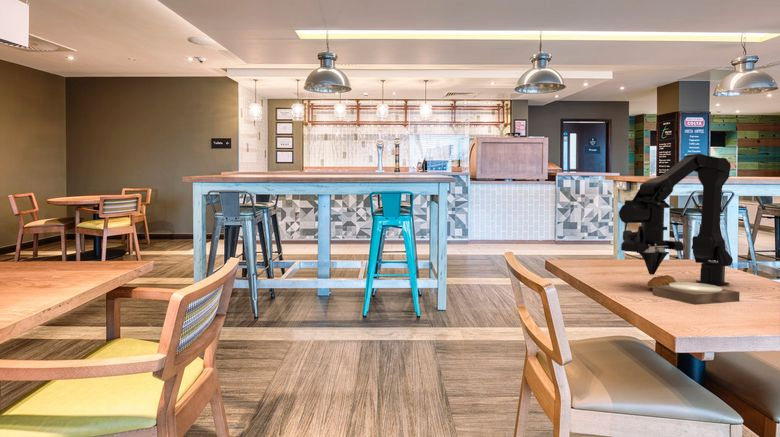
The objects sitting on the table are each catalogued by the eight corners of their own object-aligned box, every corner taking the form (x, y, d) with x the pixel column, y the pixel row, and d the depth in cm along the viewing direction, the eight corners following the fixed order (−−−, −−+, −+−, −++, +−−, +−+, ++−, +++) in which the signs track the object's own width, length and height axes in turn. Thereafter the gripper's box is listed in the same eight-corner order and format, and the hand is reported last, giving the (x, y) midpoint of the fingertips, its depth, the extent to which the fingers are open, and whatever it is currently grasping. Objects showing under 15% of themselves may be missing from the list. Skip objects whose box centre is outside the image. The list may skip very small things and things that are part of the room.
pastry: (663, 292, 137) (664, 279, 137) (640, 288, 143) (641, 275, 142) (679, 289, 142) (680, 276, 142) (656, 285, 148) (656, 273, 148)
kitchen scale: (694, 292, 140) (695, 280, 140) (739, 300, 127) (739, 288, 127) (652, 294, 135) (652, 283, 135) (694, 304, 122) (694, 291, 122)
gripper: (654, 221, 153) (653, 269, 154) (608, 222, 148) (606, 271, 148) (685, 223, 143) (684, 274, 143) (636, 223, 137) (635, 277, 138)
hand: (651, 274), depth 143 cm, fingers closed
